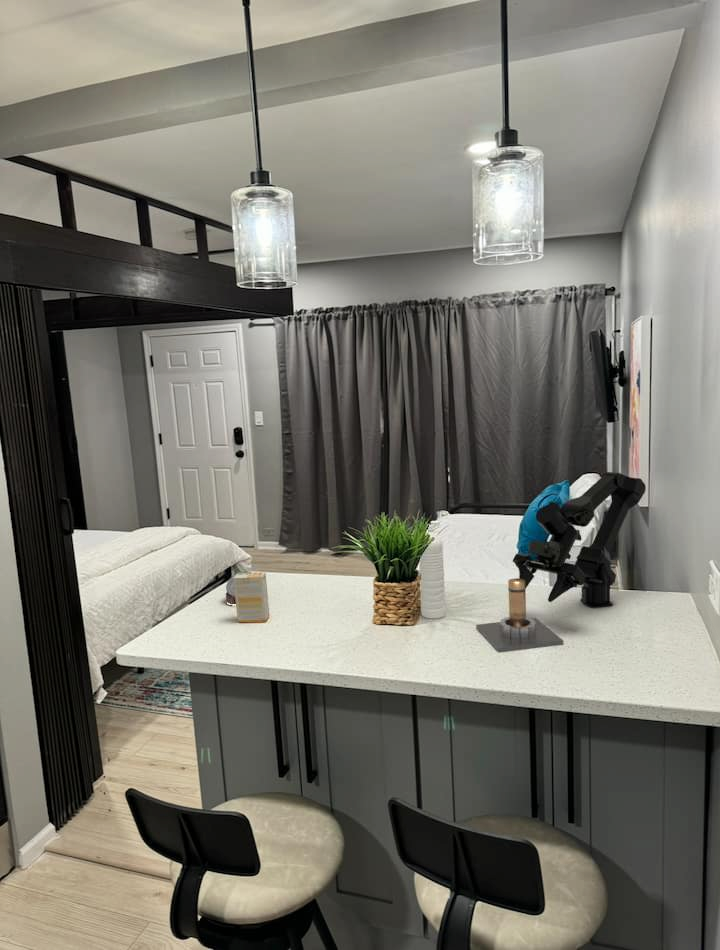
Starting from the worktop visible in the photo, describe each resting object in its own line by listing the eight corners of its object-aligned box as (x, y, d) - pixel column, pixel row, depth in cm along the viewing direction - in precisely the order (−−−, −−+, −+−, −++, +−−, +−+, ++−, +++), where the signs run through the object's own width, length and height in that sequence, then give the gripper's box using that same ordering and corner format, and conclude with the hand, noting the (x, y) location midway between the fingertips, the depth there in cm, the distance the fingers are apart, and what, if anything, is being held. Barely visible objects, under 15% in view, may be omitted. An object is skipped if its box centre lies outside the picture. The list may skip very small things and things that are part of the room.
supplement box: (270, 616, 196) (266, 571, 194) (266, 622, 191) (262, 576, 190) (241, 617, 197) (237, 572, 195) (236, 623, 192) (232, 577, 190)
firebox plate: (535, 621, 180) (535, 608, 180) (563, 644, 165) (562, 630, 164) (476, 628, 178) (475, 615, 178) (498, 652, 162) (497, 637, 162)
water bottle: (441, 620, 185) (437, 528, 182) (418, 617, 188) (413, 527, 185) (451, 609, 193) (448, 521, 190) (429, 607, 196) (425, 520, 193)
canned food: (260, 612, 214) (272, 586, 211) (238, 620, 206) (250, 592, 203) (235, 592, 219) (246, 565, 216) (213, 598, 211) (224, 570, 208)
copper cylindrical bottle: (527, 629, 172) (526, 578, 171) (525, 635, 169) (524, 583, 167) (510, 628, 174) (509, 577, 172) (508, 634, 170) (506, 582, 168)
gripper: (515, 522, 182) (489, 573, 177) (577, 533, 168) (550, 588, 163) (535, 546, 188) (510, 595, 183) (597, 557, 174) (571, 612, 169)
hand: (533, 597), depth 174 cm, fingers open, 9 cm apart
